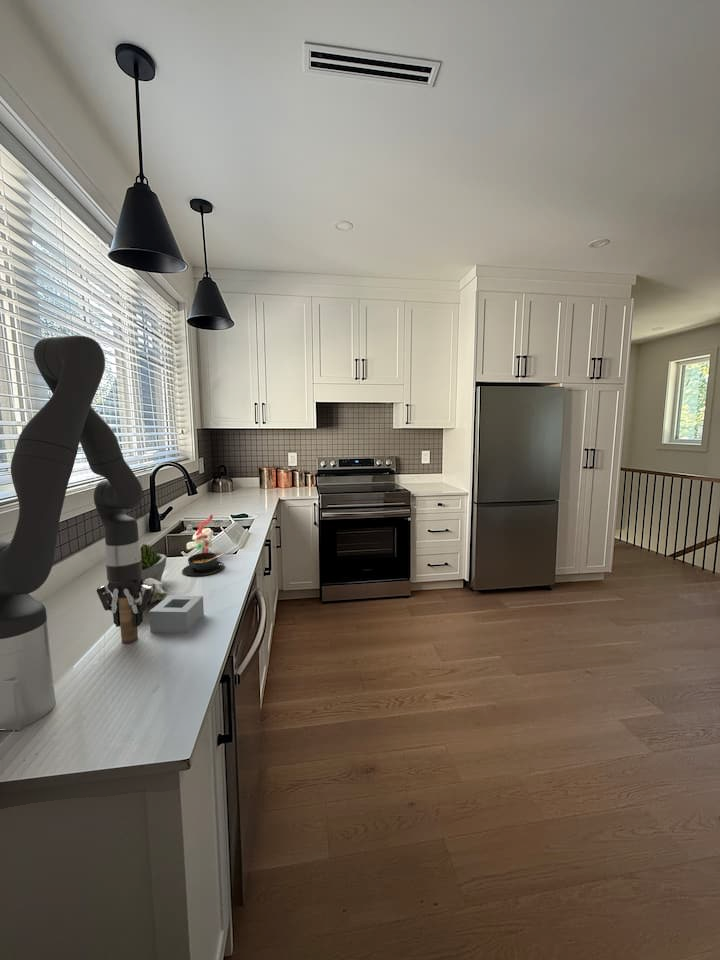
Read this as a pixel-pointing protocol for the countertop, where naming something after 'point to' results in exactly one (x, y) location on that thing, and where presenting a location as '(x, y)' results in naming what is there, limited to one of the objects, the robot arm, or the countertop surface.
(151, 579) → the rock
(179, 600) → the socket
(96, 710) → the countertop surface
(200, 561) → the soup bowl
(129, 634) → the peg
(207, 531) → the anatomical model
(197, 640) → the countertop surface
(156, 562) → the potted plant
